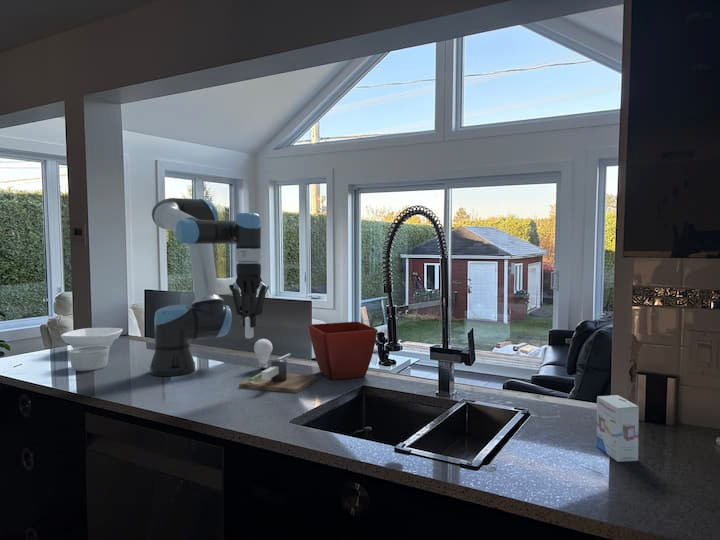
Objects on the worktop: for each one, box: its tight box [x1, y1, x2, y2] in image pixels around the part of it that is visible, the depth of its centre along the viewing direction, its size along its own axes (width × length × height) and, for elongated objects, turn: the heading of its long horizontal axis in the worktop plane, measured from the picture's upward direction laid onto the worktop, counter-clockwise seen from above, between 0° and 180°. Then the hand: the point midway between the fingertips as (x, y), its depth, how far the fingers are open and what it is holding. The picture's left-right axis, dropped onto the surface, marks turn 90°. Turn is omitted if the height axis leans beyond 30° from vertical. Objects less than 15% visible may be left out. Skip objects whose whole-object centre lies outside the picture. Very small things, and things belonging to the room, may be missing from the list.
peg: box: [261, 353, 292, 381], centre depth 166 cm, size 18×5×7 cm, turn 163°
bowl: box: [60, 327, 123, 349], centre depth 214 cm, size 21×21×9 cm
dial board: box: [238, 371, 318, 394], centre depth 167 cm, size 20×17×2 cm
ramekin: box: [68, 346, 110, 372], centre depth 188 cm, size 13×13×7 cm
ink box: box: [596, 394, 640, 463], centre depth 111 cm, size 9×5×12 cm, turn 5°
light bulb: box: [253, 338, 273, 370], centre depth 186 cm, size 7×7×11 cm
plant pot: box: [308, 321, 378, 381], centre depth 178 cm, size 19×19×17 cm
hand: (249, 337), depth 160 cm, fingers closed
